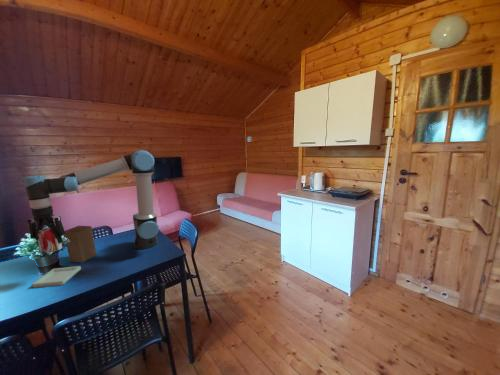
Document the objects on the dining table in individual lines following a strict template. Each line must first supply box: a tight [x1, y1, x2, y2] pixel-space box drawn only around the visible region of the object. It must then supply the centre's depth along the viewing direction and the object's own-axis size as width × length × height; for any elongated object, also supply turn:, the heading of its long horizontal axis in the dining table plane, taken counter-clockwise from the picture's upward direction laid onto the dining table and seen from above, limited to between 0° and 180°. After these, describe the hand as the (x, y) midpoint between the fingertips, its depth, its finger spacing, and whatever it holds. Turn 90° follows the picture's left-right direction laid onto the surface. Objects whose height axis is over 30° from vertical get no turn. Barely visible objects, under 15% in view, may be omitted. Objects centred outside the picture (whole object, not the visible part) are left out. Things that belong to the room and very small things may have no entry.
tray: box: [31, 265, 82, 289], centre depth 114 cm, size 14×14×2 cm
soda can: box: [38, 226, 58, 254], centre depth 110 cm, size 7×7×12 cm
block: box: [63, 225, 98, 263], centre depth 132 cm, size 10×10×20 cm
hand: (51, 249), depth 111 cm, fingers closed on soda can, 7 cm apart
